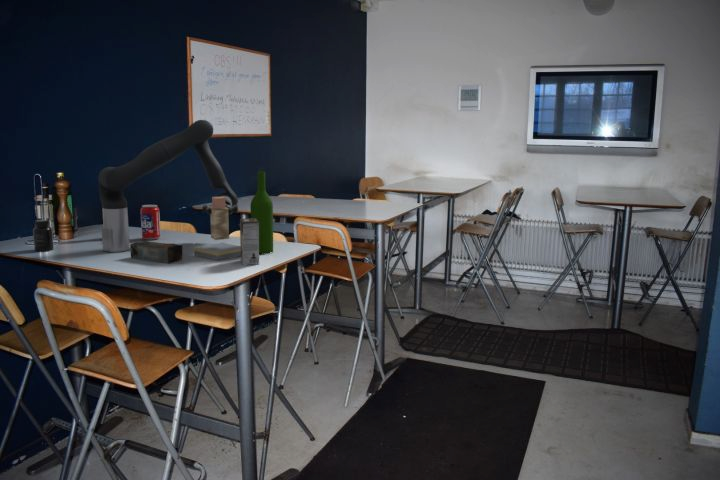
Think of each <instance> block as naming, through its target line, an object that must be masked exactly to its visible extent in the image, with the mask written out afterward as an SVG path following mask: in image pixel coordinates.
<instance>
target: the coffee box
mask: <svg viewBox="0 0 720 480" xmlns="http://www.w3.org/2000/svg"><path fill="white" fill-rule="evenodd" d="M239 237H240V239H239V240H240V242H239V246H241V256H240V262H241V264H242V266H246V265H245V264H254V265H257V264H256V263H259V264H260V254H259V222H258V220H257V218H251V217H250V218H247V217H246V218H239Z"/></svg>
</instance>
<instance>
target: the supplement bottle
mask: <svg viewBox="0 0 720 480" xmlns="http://www.w3.org/2000/svg"><path fill="white" fill-rule="evenodd" d="M49 225H50V221H49V220H48V219H38V220H37V219H36V220H35V221H34V228H33V229H32V237H33V247H34V251H35V252H40V251H41V252H50V251H49V250H51V251H53V250H54V237H53V236H54V235H53V234H54V233H53V228H52V227H51V226H49Z"/></svg>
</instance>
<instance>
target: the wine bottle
mask: <svg viewBox="0 0 720 480" xmlns="http://www.w3.org/2000/svg"><path fill="white" fill-rule="evenodd" d="M250 218H257V220H258V222H259V253H269V254H271V253H270V252H272V253H274V205H273V200H272V199H271V197H270V196H269V194H268V193H267V191H266V172H265V171H257V191H256V193H255V194H254V196H253V198H252V199H251V201H250Z"/></svg>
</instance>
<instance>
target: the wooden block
mask: <svg viewBox="0 0 720 480" xmlns="http://www.w3.org/2000/svg"><path fill="white" fill-rule="evenodd" d="M209 207H210V206H209ZM228 209H229V208H227V207H225V208H220V209H215V208H213V207H210V215H209V216H210V217H209V218H210V238H211V239H213V240H214V241H218V240H229V239H230V231H229V230H230V229H229V226H230V225H229V215H228Z"/></svg>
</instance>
